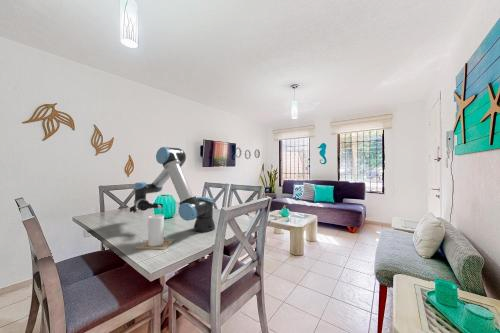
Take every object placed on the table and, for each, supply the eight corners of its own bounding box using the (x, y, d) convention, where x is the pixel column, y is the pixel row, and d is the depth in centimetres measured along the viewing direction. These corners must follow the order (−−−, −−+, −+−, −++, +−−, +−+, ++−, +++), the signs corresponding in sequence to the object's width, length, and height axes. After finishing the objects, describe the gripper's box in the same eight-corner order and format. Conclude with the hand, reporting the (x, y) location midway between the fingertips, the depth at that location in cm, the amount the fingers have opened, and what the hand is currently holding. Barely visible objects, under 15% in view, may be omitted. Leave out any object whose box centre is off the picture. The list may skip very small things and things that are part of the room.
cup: (151, 240, 119) (151, 214, 118) (165, 240, 119) (165, 214, 119) (145, 246, 110) (145, 218, 110) (160, 246, 111) (160, 218, 111)
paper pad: (174, 240, 121) (174, 239, 121) (164, 249, 108) (164, 248, 108) (148, 239, 122) (148, 238, 122) (136, 248, 109) (136, 247, 109)
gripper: (161, 207, 152) (169, 212, 135) (122, 212, 136) (127, 218, 119) (161, 197, 152) (169, 201, 135) (122, 201, 136) (127, 206, 119)
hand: (149, 209), depth 127 cm, fingers open, 13 cm apart
